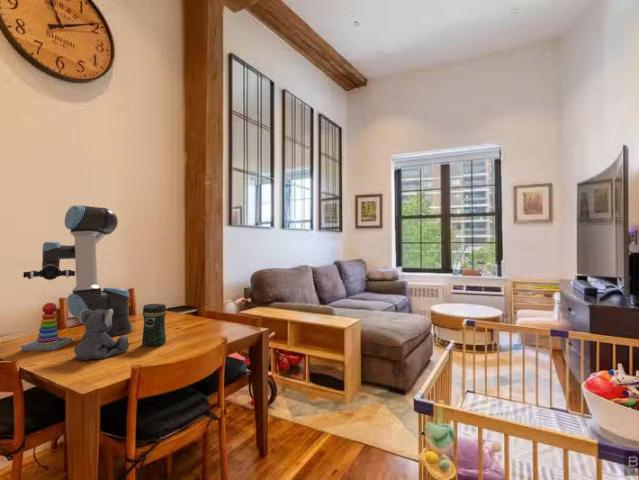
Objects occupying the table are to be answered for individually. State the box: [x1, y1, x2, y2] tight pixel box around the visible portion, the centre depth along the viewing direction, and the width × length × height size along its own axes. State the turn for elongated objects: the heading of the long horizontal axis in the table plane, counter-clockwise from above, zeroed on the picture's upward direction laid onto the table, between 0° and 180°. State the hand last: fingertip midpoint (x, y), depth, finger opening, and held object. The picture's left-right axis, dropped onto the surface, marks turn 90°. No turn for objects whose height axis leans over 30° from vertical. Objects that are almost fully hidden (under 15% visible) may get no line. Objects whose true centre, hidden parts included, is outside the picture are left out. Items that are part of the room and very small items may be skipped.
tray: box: [20, 337, 73, 352], centre depth 158 cm, size 13×13×2 cm
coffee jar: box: [141, 303, 167, 347], centre depth 164 cm, size 10×8×19 cm
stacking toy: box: [36, 302, 59, 345], centre depth 158 cm, size 8×8×19 cm
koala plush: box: [73, 309, 130, 361], centre depth 147 cm, size 17×18×20 cm
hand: (49, 275), depth 168 cm, fingers open, 13 cm apart
